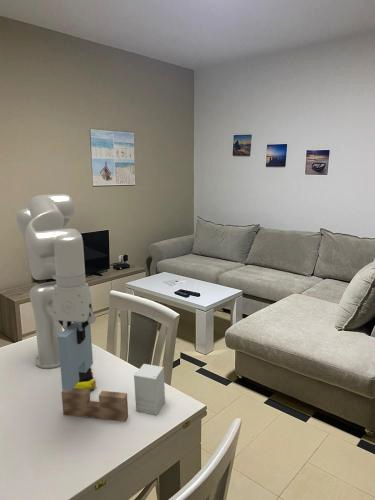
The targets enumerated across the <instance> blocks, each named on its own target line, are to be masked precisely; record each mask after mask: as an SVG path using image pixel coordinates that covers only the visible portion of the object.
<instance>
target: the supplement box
mask: <svg viewBox="0 0 375 500" xmlns="http://www.w3.org/2000/svg"><path fill="white" fill-rule="evenodd" d="M133 378H134V380H133V381H134V382H133V383H134V399H135V410H136V412H141V413H145V414H151V415H155V416H156V415H158V414H159V412H160V411H161V409H162V407H163V406H164V404H165V402H166V396H165V393H166V392H165V388H166V387H165V367H164V366H159V365H154V364H147V363H143V364H142V365H141V367H139V369H138V370H137V371H136V373H135V374H133Z"/></svg>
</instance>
